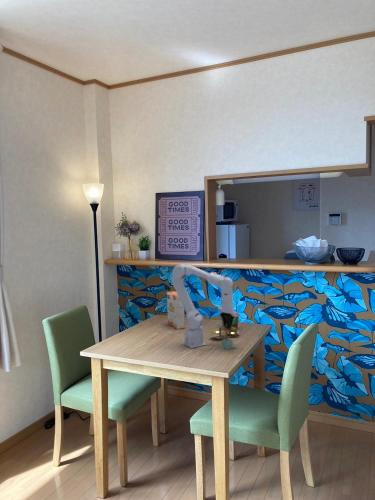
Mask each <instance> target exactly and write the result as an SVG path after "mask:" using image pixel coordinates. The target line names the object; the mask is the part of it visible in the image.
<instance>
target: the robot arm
mask: <svg viewBox="0 0 375 500" xmlns="http://www.w3.org/2000/svg"><path fill="white" fill-rule="evenodd" d="M171 273H172V280H171V281H172V286H173V288H174V289H175V292H177V294H178V296H179V298H180V301H181V303H182V305H183V307H184V312H185V313H186V319H187V326H188V329H186V330H184V345H185V346H187V347H189V348H190V349H193V348H198V347H203V346H207V343H205V342H204V328H203V325H202V324H204V317H203V315H202V314H200V312H199V310H198V309H196V307H195V305H194V303H193V301H192V299H191V297H190V294H189V293H188V290H187V288H186V286H185V284H184V280H185V277H186V276H190V275H194V276H197V277H200V278H202V279H204V280H205V279H206V281H207V283H209V284H211V285H214V286H216V287H219V288H220V289H221V294H220V295H221V306H219V307H218V308H217V309H218V310H217V311H218V312H221V311H222V313H219V316H220V317H221V318H222V319H221V318H220V319H221V321H222V320H223V324H224V327H226V323H227V328H231V326H232V322H233V319H234V317H235V316H237V313H238V312H237V311H235V310H236V309H235V308H234V304H233V302H234V299H233V296H234V295H233V288H232V287H233V285H234V282H233V281H234V280H233V279H232V278H230V277H228V276H225V275H223V276H222V275H220V274H217V272H215V271H214V272H213V271H212V272H207V271H204V270H202V269H200V268H198V267H196V266H194V265H192V264H188V263H185V262H182V263H180V264H178V265H175V266H174V268H173V269H172V272H171Z"/></svg>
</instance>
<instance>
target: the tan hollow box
mask: <svg viewBox="0 0 375 500" xmlns="http://www.w3.org/2000/svg"><path fill="white" fill-rule="evenodd" d="M218 329H219V334H218V336H219V337H221V335H222V333H221V330H224V332H225V337H226V338H225V339H226V340H227V339H228V338H227V331H229V335H231V330H235V337H234V338H235V339H237V338H238V334H237V330H238V329H237V328H234V327H232V326H231V328H227V323H226V327H222V326H221V327H218Z"/></svg>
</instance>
